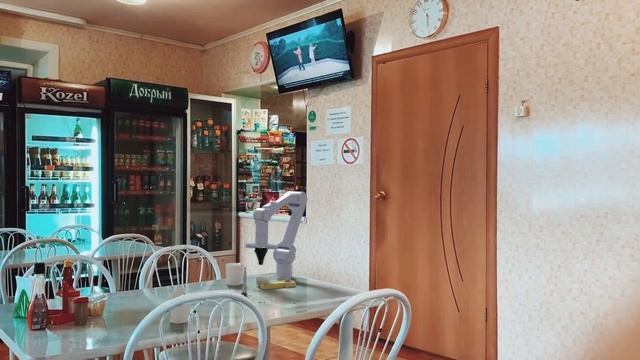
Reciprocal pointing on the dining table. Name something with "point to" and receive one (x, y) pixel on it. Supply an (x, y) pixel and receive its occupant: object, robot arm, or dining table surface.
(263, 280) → the keeper
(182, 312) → the roll
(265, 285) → the link
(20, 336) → the dining table surface
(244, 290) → the tow hook
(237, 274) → the white cup
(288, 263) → the robot arm
